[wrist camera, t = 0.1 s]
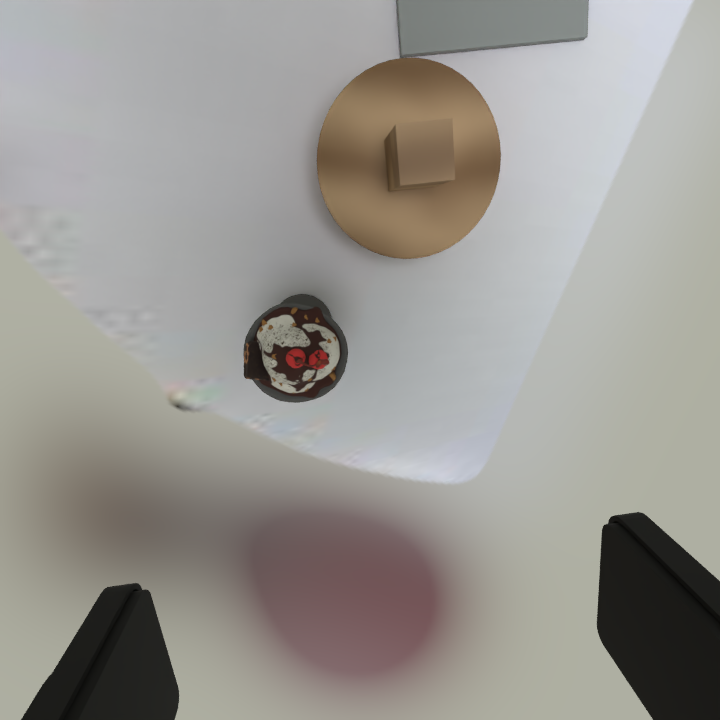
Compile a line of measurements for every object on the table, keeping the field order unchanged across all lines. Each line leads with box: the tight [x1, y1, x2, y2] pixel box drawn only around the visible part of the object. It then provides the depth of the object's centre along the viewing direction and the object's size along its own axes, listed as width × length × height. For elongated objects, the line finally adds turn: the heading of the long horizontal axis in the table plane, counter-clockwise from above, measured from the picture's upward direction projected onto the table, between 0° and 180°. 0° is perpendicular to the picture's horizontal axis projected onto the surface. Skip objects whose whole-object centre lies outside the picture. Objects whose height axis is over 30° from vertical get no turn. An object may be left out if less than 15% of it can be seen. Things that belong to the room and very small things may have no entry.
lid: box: [317, 58, 501, 259], centre depth 28 cm, size 12×12×6 cm
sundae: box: [244, 294, 348, 402], centre depth 32 cm, size 7×7×15 cm
